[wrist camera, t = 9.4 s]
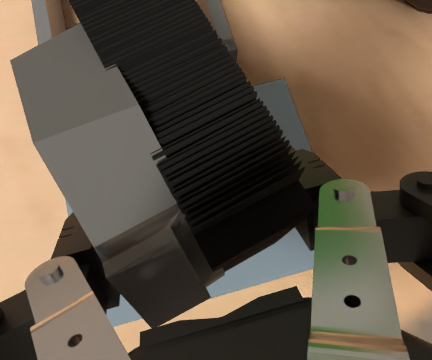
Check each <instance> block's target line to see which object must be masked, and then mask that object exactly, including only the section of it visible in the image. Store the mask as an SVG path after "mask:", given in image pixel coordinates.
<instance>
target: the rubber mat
mask: <svg viewBox="0 0 432 360" xmlns="http://www.w3.org/2000/svg"><path fill="white" fill-rule="evenodd" d="M253 87H254V92H255V91H256V92H257V98H256V100H257V99H259V98H260V101H263V102H264V104H263V106H265V105H266V107H267V110H269V111H270V114H269V116H270V115H272V116H273V120H276V122H277V123H276V126H277V125H279V126H280V129H279V130H281V129H282V131H283V134H282V136H281V138H283V137H285V136H286V137H285V140H289V141H290V143H289V144H290V145H292V147H293V148H294V149H295V150H300V149H304V150H307V151H310V152H312V149H311V147H310V144H309V142H308V139H307V136H306V134H305V131H304V129H303V126H302V123H301V121H300V118H299V115H298V113H297V110H296V108H295V105H294V102H293V100H292V97H291V94H290V92H289V89H288V87H287V84H286V81H285V79H284V78H283V79H279V80H276V81H272V82H268V83H264V84H260V85H256V86H253ZM267 110H266V111H267ZM273 120H272V121H273ZM281 138H280V139H281ZM66 205H67V212H68V217H69V216H70V215H71V214H72V212H73V211H72V209H71V207H70V206H69V204H68V202H67V200H66ZM313 268H314V250H313V251H310V250H309V248H308V247H307V245H306V244H305V242H304V241H303V239H302V238H301V236H300V234H299V233H298V231H297V230H296V228H293V229H292V230H291V231H290V232H289V233H287V234H286V235H285V236H284V237H282V238H281V239H280V240H279V241H277V242H276V243H275V244H273V245H271V246H270V247H268V248H266V249H264V250H263V251H261V252H259V253H257V254H256V255H254V256H252V257H250V258H249V259H247V260H245V261H243V262H242V263H240V264H238V265H236V266H235V267H233V268H231V269H229V270H228V271H226V272H225V276H223V277H221V278H220V279H218V280H217V281H215V282H214V283H212V284H211V285H209V286H208V287H206V288H207V290H208V292H209V294H210V296H211V298H214V297H217V296H220V295H224V294H227V293H231V292H234V291H238V290H241V289H244V288H248V287H251V286H255V285H258V284H262V283H265V282H268V281H272V280H275V279H279V278H282V277H286V276H289V275H292V274H296V273H299V272H303V271H306V270H310V269H313ZM209 299H210V298H209ZM106 316H107V318H108V320H109V321H110V323H111V325H112V327H114V326H118V325H121V324H124V323H128V322H131V321H135V320H138V319H142V317H141V316H140V315H139V314H138V313H137V312H136V310H135V309H134V308H133V307H132V306H131V305H130V304H129V303H128V302H127V301H126V300H125V298H124V297H123V296H122V295H121V294H120V304H119V306H118V307H114V308H111V309H107V313H106Z"/></svg>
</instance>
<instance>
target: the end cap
mask: <svg viewBox="0 0 432 360" xmlns="http://www.w3.org/2000/svg"><path fill="white" fill-rule="evenodd" d="M407 1H408V2H409V3H410V4H412V5H413V6H414V7H415V8H416V9H417V10H418V11H421V12H425V13H429V14H432V0H407Z"/></svg>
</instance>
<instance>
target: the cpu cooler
mask: <svg viewBox="0 0 432 360" xmlns="http://www.w3.org/2000/svg"><path fill="white" fill-rule="evenodd" d="M69 2H70V4H71V6H72V8H73V10H74V11H75V13H76V15H77V17H78V19H79V21H80V23H79V24H77V25H75V26H74V27H72V28H70V29H68V30H66V31H64V32H62V33H60V34H59V35H57V36H55V37H53V38H51V39H49V40H47V41H46V42H44V43H42V44H40V45H38V46H36V47H34V48H33V49H31V50H29V51H27V52H25V53H23V54H21V55H19V56H18V57H16V58H14V59H12V60H10V61H11V65H12V69H13V72H14V76H15V80H16V83H17V87H18V90H19V94H20V98H21V101H22V105H23V108H24V112H25V116H26V119H27V123H28V126H29V130H30V134H31V137H32V141H33V144H34V145H35V147H36V149H37V151H38V152H39V154H40V156H41V157H42V159H43V161H44V163H45V164H46V166H47V168H48V170H49V171H50V173H51V175H52V176H53V178H54V180H55V182H56V183H57V185H58V187H59V188H60V190H61V192H62V194H63V195H64V197H65V199H66V200H67V202H68V204H69V206H70V207H71V209H72V211H73V213H74V214H75V216H76V218H77V219H78V221H79V223H80V225H81V226H82V228H83V230H84V231H85V233H86V235H87V237H88V238H89V240H90V242H91V243H92V245H93V247H94V249H95V251H96V252H97V254H98V256H99V258H100V260H101V262H102V264H103V268H104V272H105V276H106V279H107V280H108V281H109V282H110V283H111V284H112V285H113V286H114V287H115V289H116V290H117V291H118V292H119V293H120V294H121V295H122V296H123V297H124V298H125V300H126V301H127V302H128V303H129V304H130V305H131V306H132V307H133V308H134V309H135V310H136V312H137V313H138V314H139V315H140V316H141V317H142V318H143V319H144V320H145V321H146V323H147V324H148V325H149V326H150V327H151V328H156V327H158V326H160V325H162V324H164V323H165V322H167V321H169V320H171V319H173V318H174V317H176V316H178V315H180V314H182V313H184V312H185V311H187V310H189V309H191V308H193V307H195V306H196V305H198V304H200V303H202V302H204V301H206V300H207V299H209V298H211V296H210V294H209V292H208V290H207V288H206V287H208V286H209V285H211V284H212V283H214V282H215V281H217V280H218V279H220V278H221V277H223V276H225V272H226V271H228V270H229V269H231V268H233V267H235V266H236V265H238V264H240V263H242V262H243V261H245V260H247V259H249V258H250V257H252V256H254V255H256V254H257V253H259V252H261V251H263V250H264V249H266V248H268V247H270V246H271V245H273V244H275V243H276V242H277V241H279V240H280V239H281V238H282V237H284V236H285V235H286V234H287V233H289V232H290V231H291V230H292V229H293V228H295V227H296V226H297V225H298V224H299V223H301V222H302V221H303V220H304V219H306V218H307V217H308V216H309V215H311V214H312V213H313V212H314V211H316V210H317V209H318V208H317V206H316V205H315V203H314V202H313V200H312V199H311V197H310V196H309V194H308V193H307V191H306V190H305V189H304V187H303V186H302V184H301V183H300V181H299V180H300V177H301V175H302V173H303V171H304V169H305V167H306V166H305V167H303V168H301V169H299V167H300V164H301V162H302V161H300V162H298V163H296V164H295V162H296V160H297V159H298V157H299V156H298V157H296V158H294V159H292V158H293V156H294V154H295V152H296V151H295V152H293V153H291V154H289V151H290V149H291V146H292V145H291V146H289V147H287V146H288V145H289V143H290V141H289V140H286V141H285V142H284V140H285V137H286V136H285V137H283V138H281V136H282V134H283V131H282V129H281V130H279V129H280V126H279V125H277V126H276V123H277V122H276V120H273V116H272V115H270V116H269V114H270V111H269V110H267V107H266V105H265V106H263V104H264V102H263V101H260V98H259V99H257V100H256V98H257V92H256V91H255V92H254V87H253V86H252V87H251V83H250V81H249V82H247V83H246V78H247V77H245V74H244V72H243V73H242V69H241V68H240V69H239V65H238V63H237V64H236V60H235V59H234V60H233V56H232V55H230V56H229V51H228V48H227V47H226V46H225V44H224V45H222V39H221V38H219V39H218V34H217V31H216V30H213V26H211V22H210V21H209V22H208V18H207V17H205V13H203V10H202V9H200V6H199V5H198V3H197V1H195V0H69ZM266 110H267V111H266ZM272 120H273V121H272ZM280 138H281V139H280ZM288 154H289V155H288ZM298 169H299V170H298Z"/></svg>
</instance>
